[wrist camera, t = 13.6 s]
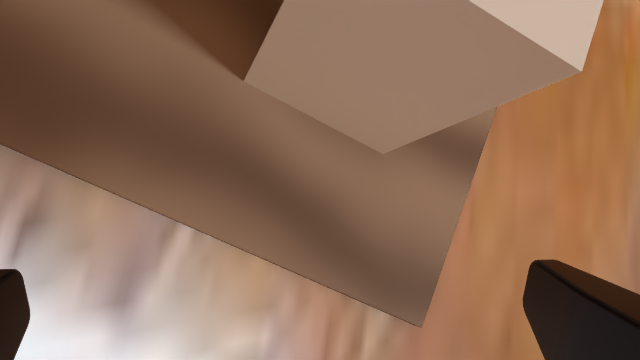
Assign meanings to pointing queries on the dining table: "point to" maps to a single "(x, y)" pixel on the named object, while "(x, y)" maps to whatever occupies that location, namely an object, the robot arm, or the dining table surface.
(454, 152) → the board
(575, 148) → the dining table surface
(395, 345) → the dining table surface
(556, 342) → the robot arm
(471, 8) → the cream matte box
